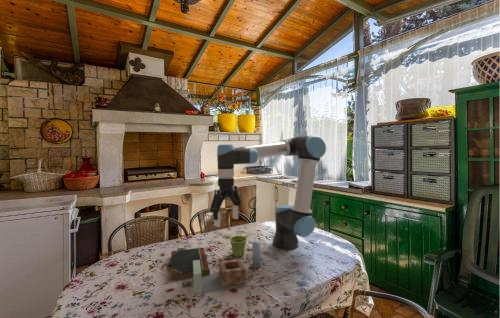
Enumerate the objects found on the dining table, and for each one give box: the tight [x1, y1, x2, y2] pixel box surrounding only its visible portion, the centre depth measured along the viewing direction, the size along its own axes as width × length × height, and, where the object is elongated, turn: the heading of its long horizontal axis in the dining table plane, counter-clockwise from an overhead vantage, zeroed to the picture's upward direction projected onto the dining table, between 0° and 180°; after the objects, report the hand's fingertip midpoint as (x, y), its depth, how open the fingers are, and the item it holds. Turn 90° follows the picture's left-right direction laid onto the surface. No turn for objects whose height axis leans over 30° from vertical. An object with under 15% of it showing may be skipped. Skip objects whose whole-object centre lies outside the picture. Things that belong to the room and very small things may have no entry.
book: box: [169, 247, 211, 281], centre depth 124 cm, size 17×4×25 cm
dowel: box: [251, 240, 262, 269], centre depth 122 cm, size 4×4×12 cm
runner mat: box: [201, 272, 249, 294], centre depth 109 cm, size 20×13×1 cm, turn 105°
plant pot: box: [229, 235, 248, 258], centre depth 135 cm, size 9×9×9 cm
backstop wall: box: [192, 260, 202, 294], centre depth 106 cm, size 3×12×8 cm, turn 15°
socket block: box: [218, 258, 247, 286], centre depth 110 cm, size 10×10×6 cm
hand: (226, 222), depth 117 cm, fingers open, 13 cm apart
